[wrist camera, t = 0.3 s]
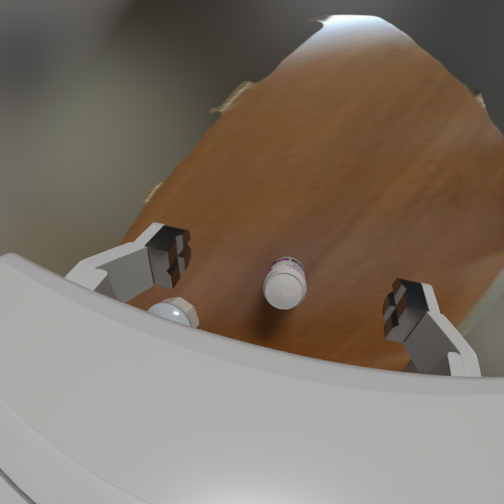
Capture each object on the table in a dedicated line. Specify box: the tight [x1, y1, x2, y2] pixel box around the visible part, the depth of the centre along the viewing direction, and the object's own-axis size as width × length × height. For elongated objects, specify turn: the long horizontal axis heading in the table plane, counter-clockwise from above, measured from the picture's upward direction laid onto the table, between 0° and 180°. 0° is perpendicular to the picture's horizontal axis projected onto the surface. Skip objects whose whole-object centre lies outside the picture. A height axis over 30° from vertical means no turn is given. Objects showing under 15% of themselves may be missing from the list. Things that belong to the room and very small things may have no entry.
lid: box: [147, 302, 192, 327], centre depth 63 cm, size 13×13×4 cm
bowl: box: [160, 297, 199, 328], centre depth 68 cm, size 12×12×6 cm
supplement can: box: [263, 257, 306, 309], centre depth 57 cm, size 8×8×15 cm
